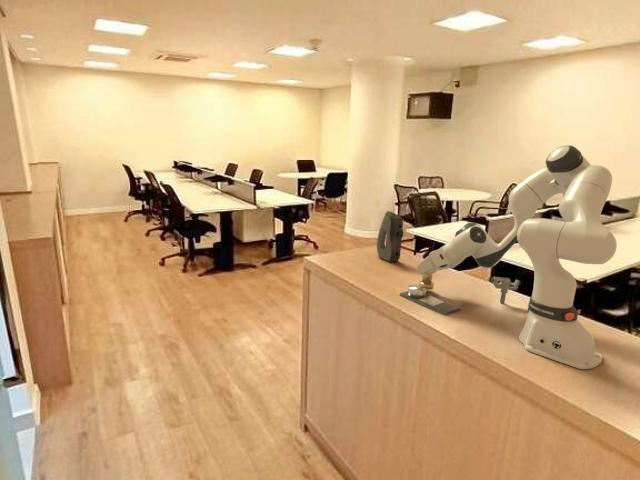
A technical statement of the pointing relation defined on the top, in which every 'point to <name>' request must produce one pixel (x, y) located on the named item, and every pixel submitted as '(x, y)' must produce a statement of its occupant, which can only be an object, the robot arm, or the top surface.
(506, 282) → the mechanical component
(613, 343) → the top surface
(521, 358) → the top surface
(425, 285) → the gold pawn piece
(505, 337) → the top surface
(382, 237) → the handheld device
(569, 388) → the top surface
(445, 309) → the carrier plate
